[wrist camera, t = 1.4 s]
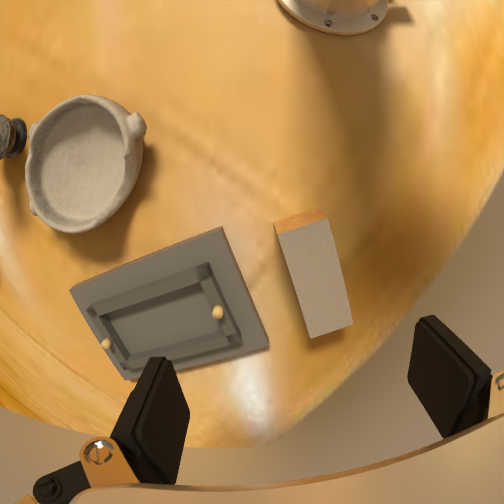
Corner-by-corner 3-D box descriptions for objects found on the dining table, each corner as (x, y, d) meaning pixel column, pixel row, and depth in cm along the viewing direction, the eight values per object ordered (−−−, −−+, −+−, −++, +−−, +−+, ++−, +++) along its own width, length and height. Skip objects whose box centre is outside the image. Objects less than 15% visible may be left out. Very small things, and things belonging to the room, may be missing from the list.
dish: (163, 105, 26) (146, 96, 21) (137, 236, 30) (118, 250, 25) (54, 98, 25) (28, 93, 20) (38, 211, 29) (12, 220, 24)
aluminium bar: (316, 207, 29) (328, 217, 24) (340, 301, 32) (353, 324, 28) (273, 221, 30) (277, 234, 25) (303, 313, 33) (310, 338, 28)
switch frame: (221, 226, 30) (216, 236, 26) (268, 338, 34) (270, 360, 30) (75, 285, 32) (57, 299, 28) (128, 373, 36) (118, 393, 32)
